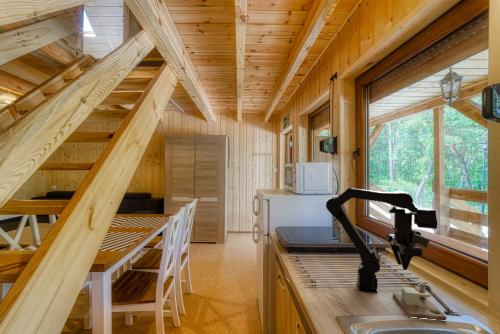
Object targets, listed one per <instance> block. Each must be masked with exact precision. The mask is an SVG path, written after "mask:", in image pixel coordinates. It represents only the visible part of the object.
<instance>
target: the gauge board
mask: <svg viewBox="0 0 500 334" xmlns="http://www.w3.org/2000/svg"><path fill="white" fill-rule="evenodd" d="M425 285H426V284H425V283H422V282H421V283H419V286H418V288H419V289H418V290H419V292H418V293H424V294H426V293H425V291H426V287H425ZM392 298H393V299H394V300H395V302H396V303H397V305H398V306H399V307H400V309H401V310H402V312H403V313H404V314H405V315H406V317H407V316H408V317H417V318H427V319H436V320H446V321H447V316H446V314H445V313H443V312H442V311H441V310H440V309H439V308H438V307H437V306H436V305H435V304H434V303H433V302H432V301H431V299H429V297H420V296H419V306H418V305H408V304H406V303H405V302H404V301H403V300H402V293H396V292H393V293H392ZM408 317H407V318H408Z"/></svg>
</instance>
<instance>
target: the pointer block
mask: <svg viewBox="0 0 500 334" xmlns="http://www.w3.org/2000/svg"><path fill="white" fill-rule="evenodd" d="M401 294H402V300H403V301H404V302H405V303H406V304H408V305H418V306H419V296H420V297H427V298H431V294H430V293H425V294H424V293H419V292H418V291H417V290H416V289H415V288H414V287H411V288H410V287H401Z"/></svg>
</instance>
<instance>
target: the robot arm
mask: <svg viewBox="0 0 500 334" xmlns="http://www.w3.org/2000/svg"><path fill="white" fill-rule="evenodd" d="M352 198H353V199H359V200H365V201H373V202H374V201H375V202H381V203H384V204H385V203H386V204H388V205H391V206H392V208H390V209H389V210H388V212H389V214H394V216H393V217H394V223H393V225H392V230H393V232H394V233H388V234H387V235H385V242H387V243H388V245H389V247H390V249H391V252H392V254H393V256H394V258H395V261H396V263H397V265H399V266H402V269H403V271H407V270H408V268H409V266H410V264H411V261H412V259H413V258H414V257H419V258H420V257H421V258H422V257H423V256H424V250H423V249H422V248H420V247H419V246H418V245H420V246H423V248H425V249H426V248H428V246H429V243H430V241H431V240H430V239H429V238H427V237H425V236H424V235H422V233H421V232H420V231H418V230H415V229H413V224H414V225H416V226H417V228H423V229H432V230H437V228H438V219H437V218H438V217H437V211H436V210H435V209H431V208H429V209H424V208H423V209H422V208H418V207H417V205H415V204H414V200H413V197H412V196H411V194H410V193H408V192H406V191H384V192H383V191H378V190H369V189H363V188H356V187H355V188H354V187H349V188H347V189H346V190H344V192H342V193H340V194H339V195H338V196H333V197H331V198H330V199H328V200H327V201H326V204H325V208H326V210H327V211H328V212H329V213H330V214H331V215H332V216H333V217H334V218H335V219H336V220H338V222H339V223H340V225H341V226H342V228H343V230H344V231H345V232H346V234H347V236H348V238H349V239H350V241H351V242H352V244H353V245H354V247H355V249H356V250H357V251H358V254H359V258H360V261H361V262H360V263H359V266H358V270H357V282H356V283H355V284H356V287H357V289H358V290H359V292H364V293H375V294H378V287H379V286H378V283H379V282H378V281H379V280H378V278H377V273H378V272H380V270H381V264H382V261H381V258H382V256H381V254H379V253H378V252H377V249H376V248H375V247H372V248H371V247H370V246H368V244H367V242H366V241H365V240H364V238H363V236H362V235H361V234H360V232H359V231H358V229H357V228H356V226H355V224H354V223H353V221H352V219H350V217H349V215H348V213H347V210H346V207H345V205H344V204H346V202H348V201H349V200H351V199H352ZM406 210H408V211H406ZM416 244H417V245H416Z"/></svg>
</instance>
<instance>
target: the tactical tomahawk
mask: <svg viewBox="0 0 500 334" xmlns="http://www.w3.org/2000/svg"><path fill="white" fill-rule="evenodd" d="M425 290H426V291H427V292H428V294H430V296H432V297H433V298H434V299H435V300H436V301H437V303H439V304H440V305H441V306H442V308H444V309H445V310H444V311H443V312H444V313H443V314H444V315H447V316H456V317H463V316H462V315H460V313H459V312H457V313H456V312H454V311H453V309H451V308H450V307H449V306H448V305H447V304H446V303H445V302H444V301H443V300H442V299H441V298H440V297H439V296H438V295H437V294H436V293H435V292H433V290H432V288H431V286H429V285H427V284H425Z"/></svg>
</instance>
